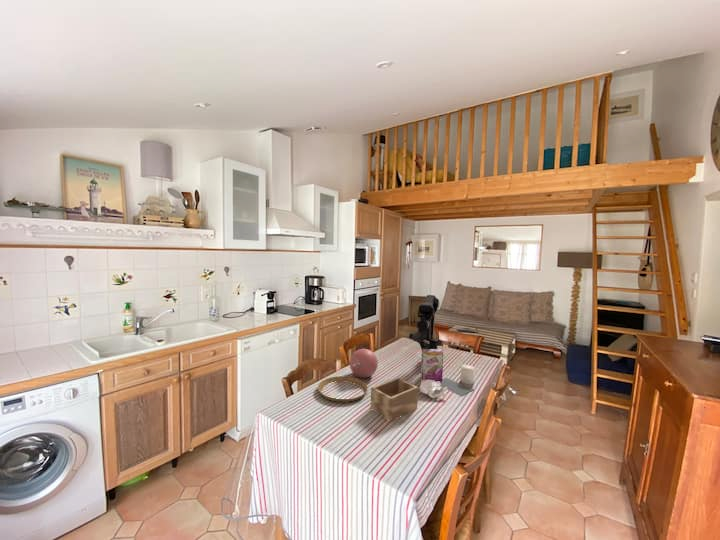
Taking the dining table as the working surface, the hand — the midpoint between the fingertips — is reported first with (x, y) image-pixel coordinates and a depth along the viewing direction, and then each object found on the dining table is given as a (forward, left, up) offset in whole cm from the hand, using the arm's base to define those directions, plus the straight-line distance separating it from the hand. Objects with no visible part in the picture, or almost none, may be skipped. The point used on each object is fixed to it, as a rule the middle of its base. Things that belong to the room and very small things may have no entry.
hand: (423, 354), depth 167 cm
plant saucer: (-11, -48, -13) cm, 51 cm away
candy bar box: (+6, 0, -13) cm, 14 cm away
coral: (+16, -21, -11) cm, 28 cm away
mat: (+18, 0, -13) cm, 22 cm away
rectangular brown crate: (+15, -39, -13) cm, 44 cm away
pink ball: (-18, -30, -13) cm, 38 cm away
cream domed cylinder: (+19, +14, -13) cm, 27 cm away
